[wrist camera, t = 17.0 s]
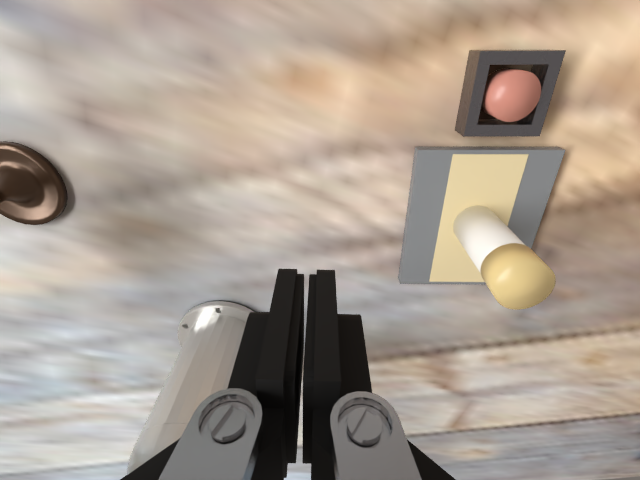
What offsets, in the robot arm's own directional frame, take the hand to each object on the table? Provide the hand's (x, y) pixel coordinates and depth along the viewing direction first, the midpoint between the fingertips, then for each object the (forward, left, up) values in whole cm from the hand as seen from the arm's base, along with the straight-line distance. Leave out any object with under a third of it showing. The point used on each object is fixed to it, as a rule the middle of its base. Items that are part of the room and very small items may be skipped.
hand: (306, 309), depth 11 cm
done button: (+3, -16, -26) cm, 31 cm away
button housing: (+3, -16, -27) cm, 31 cm away
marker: (-10, -16, -25) cm, 32 cm away
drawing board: (-10, -16, -27) cm, 33 cm away
